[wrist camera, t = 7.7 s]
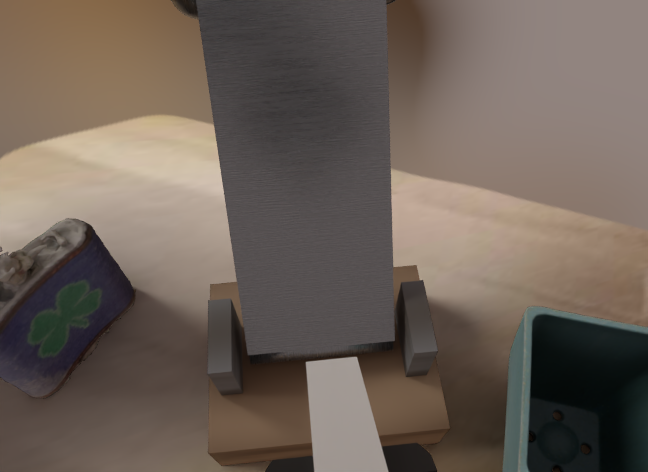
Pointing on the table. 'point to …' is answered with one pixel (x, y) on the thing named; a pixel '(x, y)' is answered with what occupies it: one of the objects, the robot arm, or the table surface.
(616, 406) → the flower pot
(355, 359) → the robot arm
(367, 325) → the lever
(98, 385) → the table surface
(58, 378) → the flask
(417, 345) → the base
